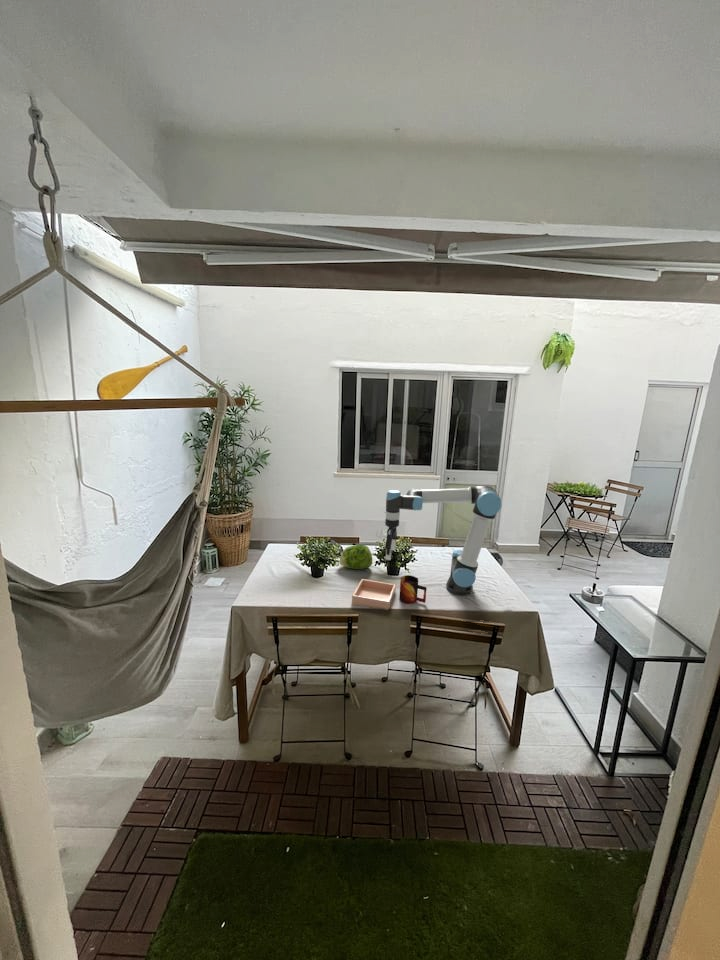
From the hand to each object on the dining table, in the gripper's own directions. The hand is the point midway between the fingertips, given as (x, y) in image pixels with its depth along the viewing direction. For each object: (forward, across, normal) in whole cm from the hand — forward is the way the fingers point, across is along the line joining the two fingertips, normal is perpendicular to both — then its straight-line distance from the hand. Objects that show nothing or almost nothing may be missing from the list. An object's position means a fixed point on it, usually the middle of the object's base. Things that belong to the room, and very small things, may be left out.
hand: (390, 554), depth 227 cm
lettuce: (+22, -23, -27) cm, 42 cm away
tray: (+22, +10, -6) cm, 25 cm away
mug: (+23, +4, +14) cm, 27 cm away
